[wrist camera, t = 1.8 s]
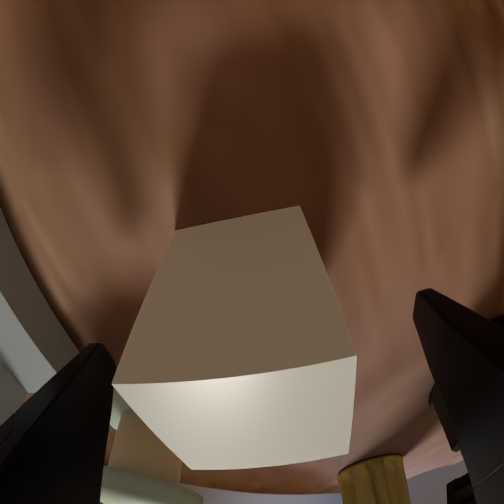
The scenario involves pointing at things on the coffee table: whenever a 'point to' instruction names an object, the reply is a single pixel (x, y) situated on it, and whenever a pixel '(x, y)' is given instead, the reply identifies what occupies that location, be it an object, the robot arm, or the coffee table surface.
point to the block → (242, 347)
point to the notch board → (25, 330)
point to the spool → (141, 464)
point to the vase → (375, 482)
